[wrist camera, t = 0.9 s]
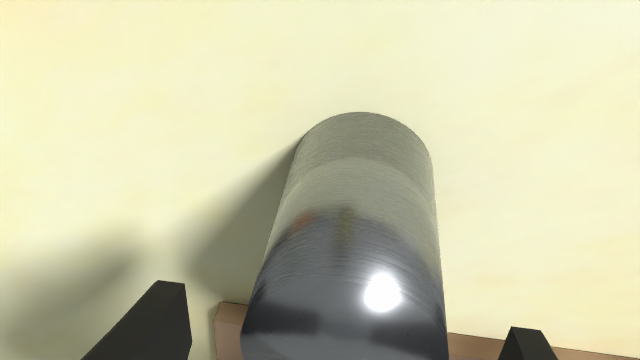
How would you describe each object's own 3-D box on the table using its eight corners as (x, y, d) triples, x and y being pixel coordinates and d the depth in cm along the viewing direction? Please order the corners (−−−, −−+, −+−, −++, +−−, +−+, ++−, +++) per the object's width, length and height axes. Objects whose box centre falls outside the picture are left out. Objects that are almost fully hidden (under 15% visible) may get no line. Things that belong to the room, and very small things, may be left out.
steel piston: (445, 120, 16) (470, 299, 10) (419, 235, 18) (428, 428, 13) (294, 104, 16) (236, 269, 10) (290, 219, 19) (242, 401, 13)
